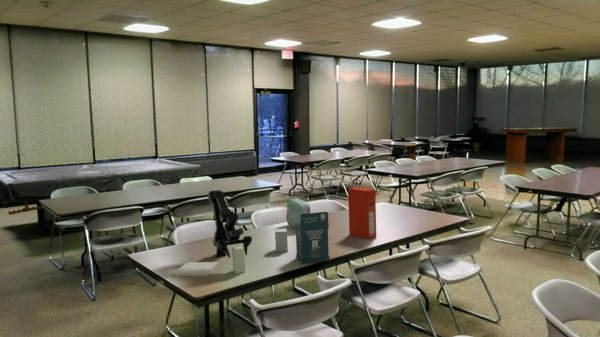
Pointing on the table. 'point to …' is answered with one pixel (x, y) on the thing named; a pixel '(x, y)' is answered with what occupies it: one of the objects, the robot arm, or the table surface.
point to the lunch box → (296, 210)
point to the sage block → (238, 259)
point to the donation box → (312, 238)
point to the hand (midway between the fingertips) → (238, 256)
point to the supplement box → (281, 240)
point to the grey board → (196, 269)
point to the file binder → (362, 212)
